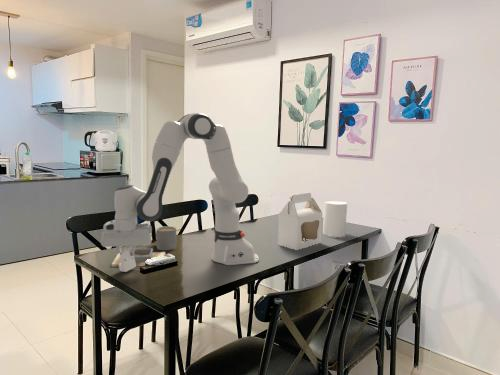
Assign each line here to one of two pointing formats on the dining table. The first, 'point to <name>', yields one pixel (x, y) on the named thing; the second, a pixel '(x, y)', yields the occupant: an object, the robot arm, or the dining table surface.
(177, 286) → the dining table surface
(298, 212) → the gable box
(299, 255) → the dining table surface
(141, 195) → the robot arm
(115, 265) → the mounting board
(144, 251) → the back box
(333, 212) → the canister
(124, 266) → the white wedge bracket
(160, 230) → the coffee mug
